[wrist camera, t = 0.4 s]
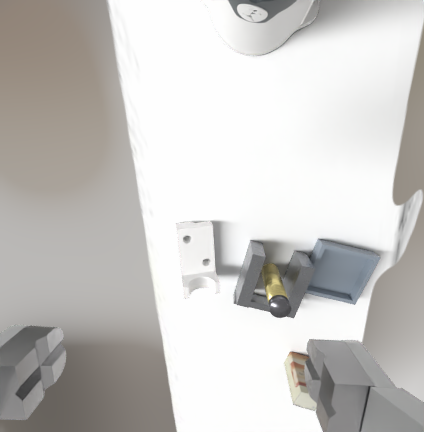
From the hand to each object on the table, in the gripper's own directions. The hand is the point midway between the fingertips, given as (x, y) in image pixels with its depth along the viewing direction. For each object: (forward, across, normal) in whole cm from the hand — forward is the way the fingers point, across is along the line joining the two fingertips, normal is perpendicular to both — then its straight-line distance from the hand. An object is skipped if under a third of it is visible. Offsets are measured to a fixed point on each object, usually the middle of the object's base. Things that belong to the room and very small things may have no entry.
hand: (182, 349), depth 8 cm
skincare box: (+44, -21, +42) cm, 65 cm away
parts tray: (+41, -26, +16) cm, 51 cm away
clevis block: (+41, -12, +18) cm, 47 cm away
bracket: (+42, +3, +13) cm, 44 cm away
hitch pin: (+41, -12, +17) cm, 46 cm away
